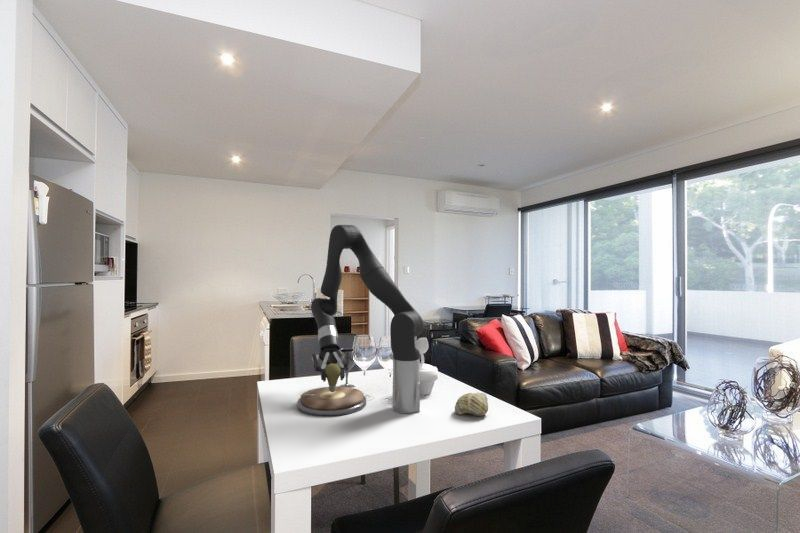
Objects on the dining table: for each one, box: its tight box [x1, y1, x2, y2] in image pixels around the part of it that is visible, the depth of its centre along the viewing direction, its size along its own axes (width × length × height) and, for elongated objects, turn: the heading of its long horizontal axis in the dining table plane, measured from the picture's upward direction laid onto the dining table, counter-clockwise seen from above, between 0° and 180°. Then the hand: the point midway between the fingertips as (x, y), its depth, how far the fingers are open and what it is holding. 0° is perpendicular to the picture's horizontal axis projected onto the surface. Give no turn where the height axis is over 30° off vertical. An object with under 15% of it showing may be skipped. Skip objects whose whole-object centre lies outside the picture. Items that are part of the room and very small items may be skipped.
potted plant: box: [415, 334, 439, 396], centre depth 150 cm, size 13×12×25 cm
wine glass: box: [337, 347, 356, 388], centre depth 157 cm, size 8×8×15 cm
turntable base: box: [296, 395, 367, 418], centre depth 135 cm, size 24×24×2 cm
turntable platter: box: [299, 386, 365, 410], centre depth 135 cm, size 22×22×2 cm
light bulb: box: [325, 363, 341, 392], centre depth 135 cm, size 6×6×10 cm
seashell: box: [454, 391, 489, 417], centre depth 127 cm, size 10×10×10 cm
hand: (333, 379), depth 134 cm, fingers closed on light bulb, 5 cm apart
